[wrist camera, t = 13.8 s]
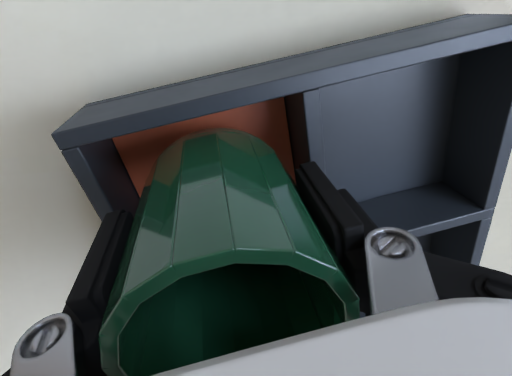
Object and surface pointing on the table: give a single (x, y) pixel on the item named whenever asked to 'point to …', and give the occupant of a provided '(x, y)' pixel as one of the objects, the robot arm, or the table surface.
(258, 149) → the tumbler
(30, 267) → the table surface
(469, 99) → the tray
